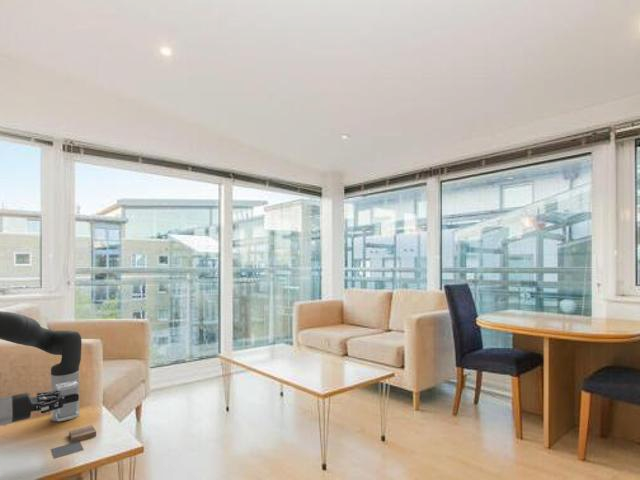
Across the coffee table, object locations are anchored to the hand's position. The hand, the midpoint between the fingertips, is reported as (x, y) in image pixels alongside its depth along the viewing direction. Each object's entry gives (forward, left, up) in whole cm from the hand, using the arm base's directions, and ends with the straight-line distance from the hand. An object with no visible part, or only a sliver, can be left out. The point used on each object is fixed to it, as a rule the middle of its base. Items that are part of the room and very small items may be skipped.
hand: (76, 394), depth 130 cm
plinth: (-8, +3, -17) cm, 19 cm away
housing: (0, -3, -6) cm, 7 cm away
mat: (0, -3, -17) cm, 18 cm away
